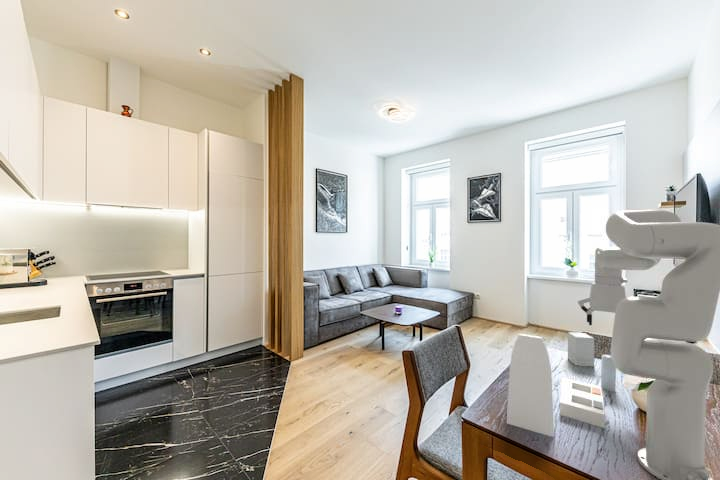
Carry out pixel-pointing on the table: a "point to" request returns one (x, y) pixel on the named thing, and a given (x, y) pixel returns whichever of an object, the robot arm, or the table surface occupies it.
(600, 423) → the socket block
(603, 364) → the plug
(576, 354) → the supplement box
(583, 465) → the table surface
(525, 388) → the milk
